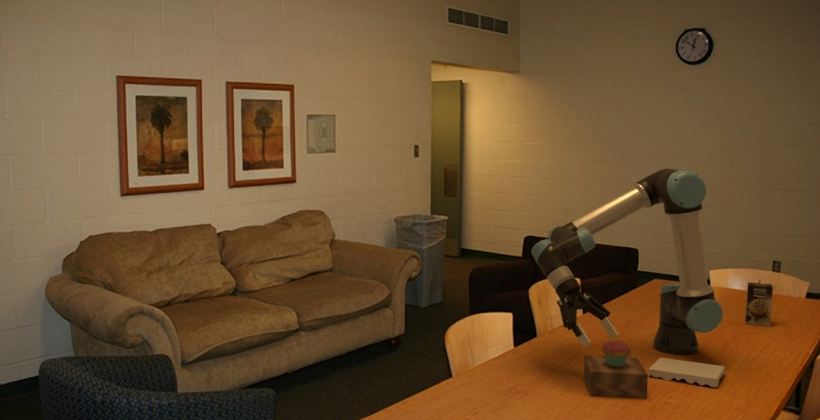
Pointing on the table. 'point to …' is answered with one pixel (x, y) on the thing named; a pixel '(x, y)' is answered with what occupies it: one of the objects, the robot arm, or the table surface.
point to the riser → (615, 378)
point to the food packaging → (687, 371)
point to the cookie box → (758, 304)
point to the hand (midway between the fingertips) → (601, 341)
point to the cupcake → (616, 352)
